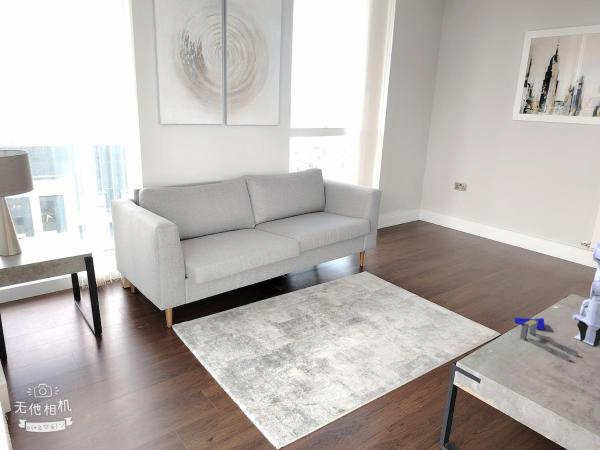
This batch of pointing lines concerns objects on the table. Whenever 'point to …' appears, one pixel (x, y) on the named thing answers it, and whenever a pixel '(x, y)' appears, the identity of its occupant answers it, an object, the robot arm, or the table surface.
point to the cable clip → (523, 320)
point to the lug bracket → (526, 325)
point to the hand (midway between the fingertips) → (588, 342)
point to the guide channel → (554, 349)
